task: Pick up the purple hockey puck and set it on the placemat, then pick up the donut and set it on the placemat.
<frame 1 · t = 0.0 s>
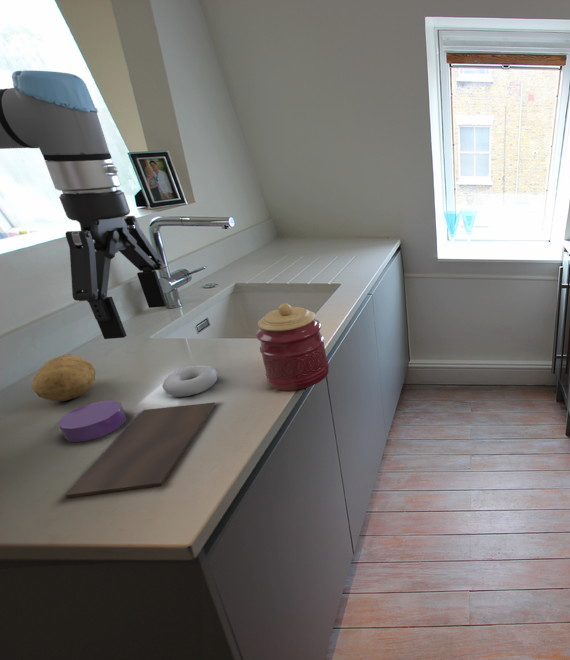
hand: (138, 320, 75), 22 cm above the worktop, tool pointing down, fingers open, 13 cm apart
donut: (193, 387, 97), on the worktop
purple hockey puck: (96, 426, 84), on the worktop
placemat: (152, 444, 79), on the worktop
kitchen canister: (299, 377, 100), on the worktop
potato: (73, 395, 94), on the worktop
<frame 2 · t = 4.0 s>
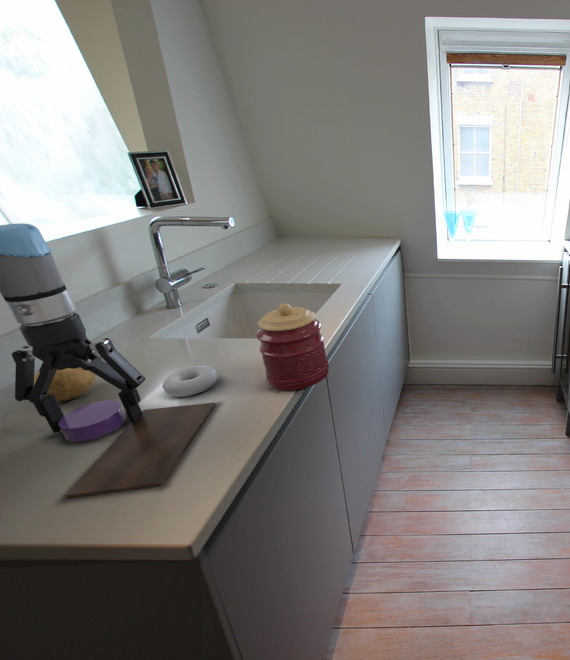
hand: (99, 423, 84), 1 cm above the worktop, tool pointing down, fingers open, 12 cm apart
nothing on the worktop moved.
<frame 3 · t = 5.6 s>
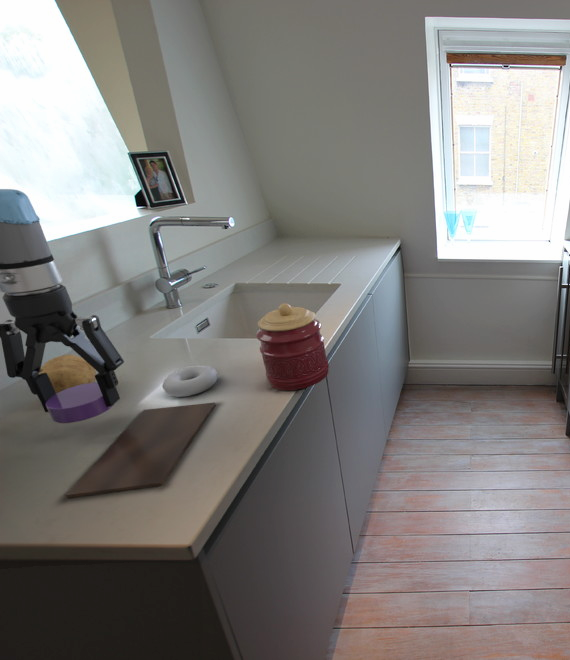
hand: (83, 405, 81), 5 cm above the worktop, tool pointing down, fingers closed on purple hockey puck, 9 cm apart
purple hockey puck: (85, 408, 82), point 4 cm above the worktop, touching gripper
everything else where it was.
when the fingers open (1 cm above the worktop, at t = 10.3 s): purple hockey puck stays where it is, resting on placemat.
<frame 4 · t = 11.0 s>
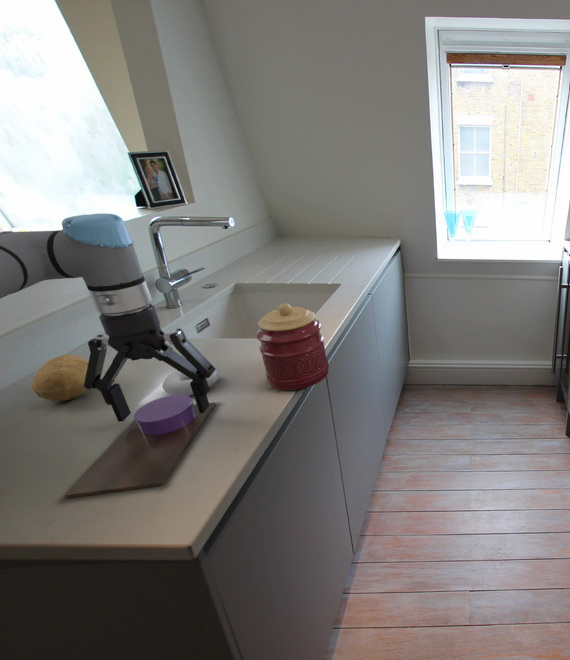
hand: (165, 413, 84), 2 cm above the worktop, tool pointing down, fingers open, 13 cm apart
purple hockey puck: (168, 420, 84), point 1 cm above the worktop, touching placemat
everything else where it was.
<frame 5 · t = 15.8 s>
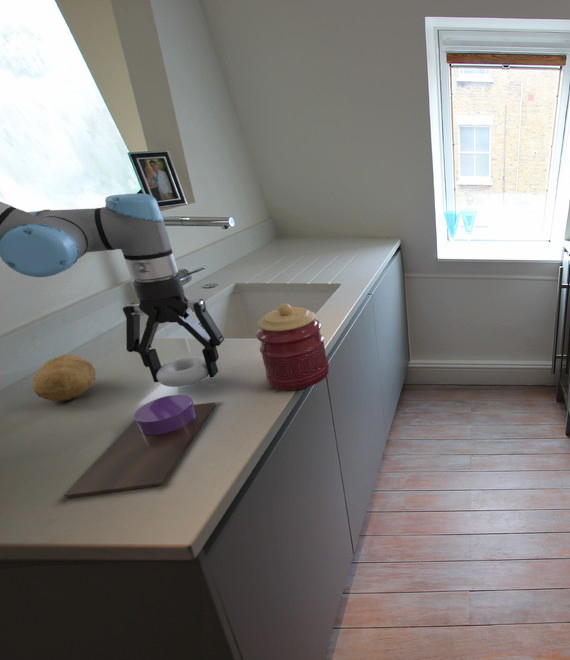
hand: (187, 376, 95), 3 cm above the worktop, tool pointing down, fingers closed on donut, 10 cm apart
donut: (187, 378, 95), point 2 cm above the worktop, touching gripper
everything else where it was.
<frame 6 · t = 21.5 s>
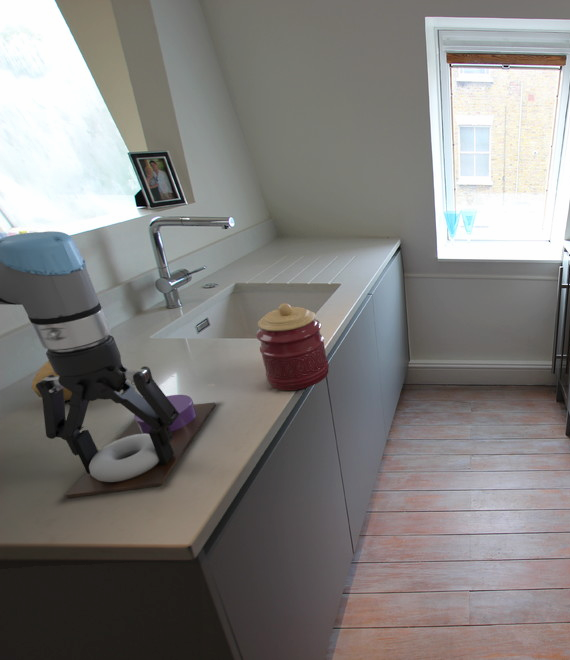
hand: (132, 463, 73), 1 cm above the worktop, tool pointing down, fingers closed on donut, 10 cm apart
donut: (132, 465, 73), resting on placemat, touching gripper
everything else where it was.
when the fingers open (1 cm above the worktop, at t = 25.1 s): donut stays where it is, resting on placemat.
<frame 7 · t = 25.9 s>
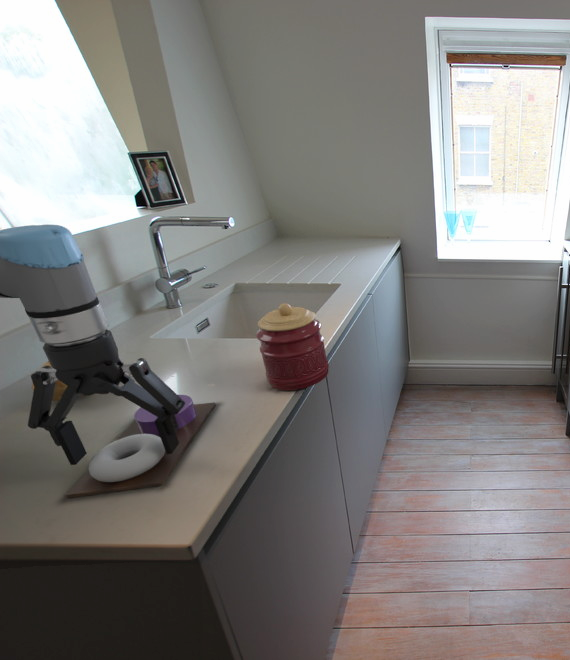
hand: (127, 454, 72), 3 cm above the worktop, tool pointing down, fingers open, 13 cm apart
donut: (132, 465, 73), resting on placemat
everything else where it was.
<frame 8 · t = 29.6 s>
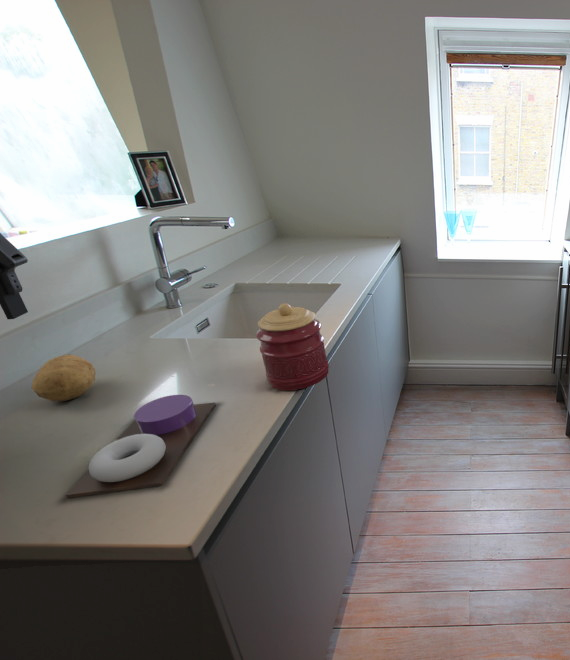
nothing on the worktop moved.
at the end: purple hockey puck inside the target area (0.1 cm from its centre), point 0.6 cm above the worktop; donut inside the target area (0.1 cm from its centre), resting on placemat; purple hockey puck tilted 0° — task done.
